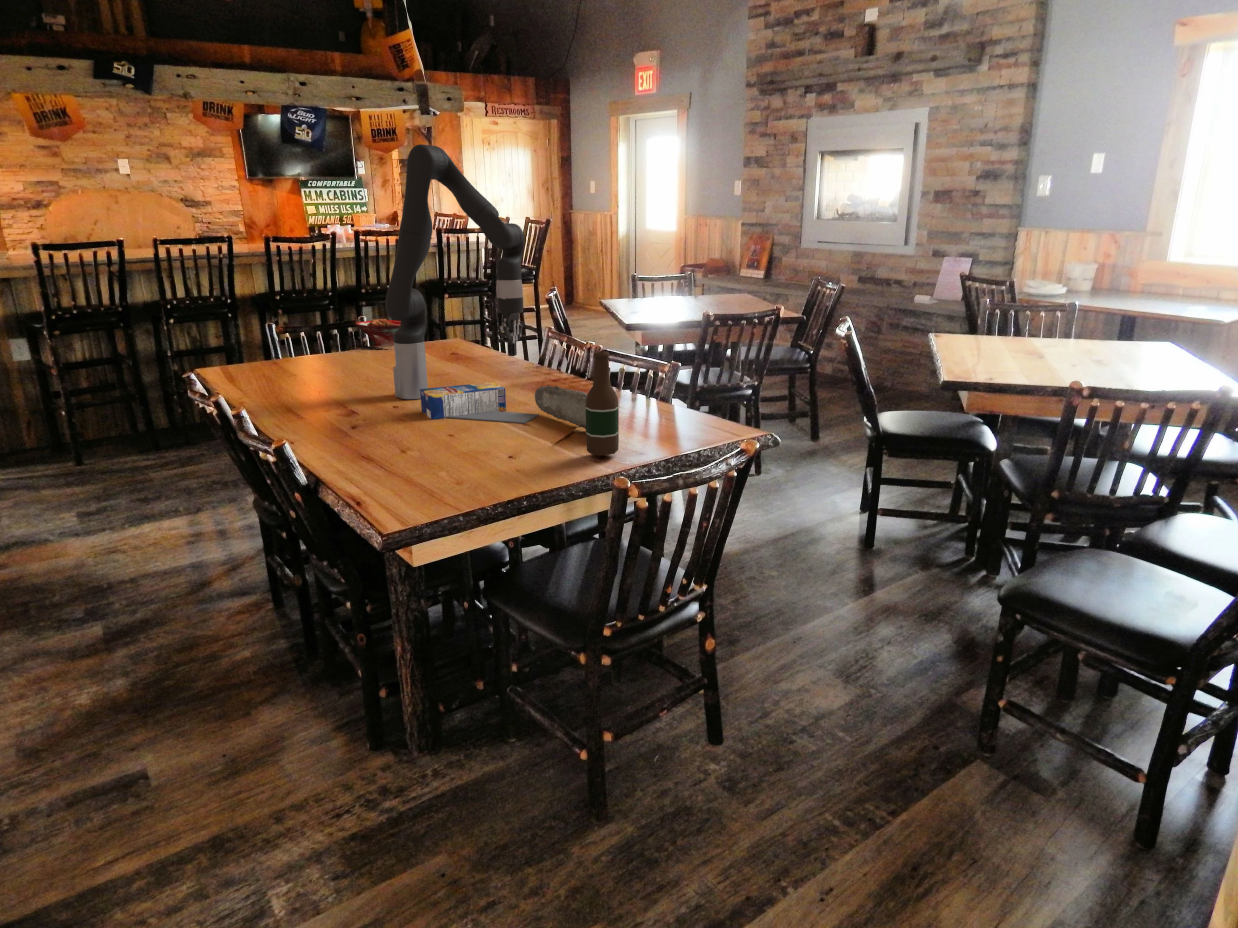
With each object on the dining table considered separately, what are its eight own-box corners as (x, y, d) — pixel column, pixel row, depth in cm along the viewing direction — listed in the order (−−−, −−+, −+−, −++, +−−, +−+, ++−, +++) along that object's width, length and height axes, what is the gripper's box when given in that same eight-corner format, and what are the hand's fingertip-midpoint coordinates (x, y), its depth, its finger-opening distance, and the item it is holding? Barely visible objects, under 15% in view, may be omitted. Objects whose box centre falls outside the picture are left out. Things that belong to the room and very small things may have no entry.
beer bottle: (585, 447, 201) (583, 349, 194) (617, 446, 202) (616, 348, 195) (587, 456, 194) (585, 354, 187) (620, 455, 195) (619, 354, 188)
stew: (432, 347, 356) (429, 310, 351) (408, 356, 333) (404, 316, 328) (372, 346, 361) (368, 309, 356) (344, 355, 338) (340, 315, 334)
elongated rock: (529, 415, 235) (527, 380, 232) (544, 412, 238) (543, 378, 235) (602, 439, 208) (602, 401, 205) (619, 436, 211) (619, 398, 209)
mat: (445, 418, 231) (445, 416, 231) (462, 410, 240) (462, 408, 240) (524, 423, 224) (524, 422, 224) (538, 415, 234) (538, 414, 233)
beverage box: (506, 411, 239) (431, 420, 229) (494, 404, 248) (421, 412, 239) (505, 388, 237) (429, 396, 227) (493, 382, 246) (419, 389, 237)
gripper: (508, 293, 244) (510, 351, 249) (487, 297, 232) (490, 358, 237) (531, 294, 242) (533, 353, 247) (511, 298, 230) (514, 360, 235)
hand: (512, 355), depth 242 cm, fingers closed
